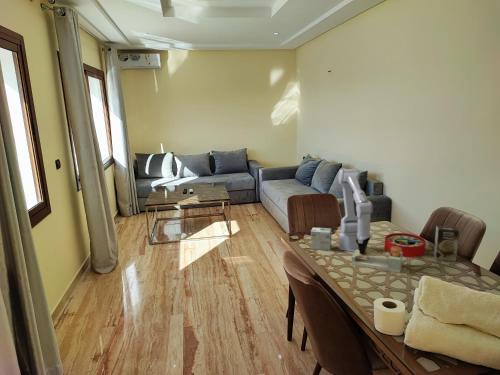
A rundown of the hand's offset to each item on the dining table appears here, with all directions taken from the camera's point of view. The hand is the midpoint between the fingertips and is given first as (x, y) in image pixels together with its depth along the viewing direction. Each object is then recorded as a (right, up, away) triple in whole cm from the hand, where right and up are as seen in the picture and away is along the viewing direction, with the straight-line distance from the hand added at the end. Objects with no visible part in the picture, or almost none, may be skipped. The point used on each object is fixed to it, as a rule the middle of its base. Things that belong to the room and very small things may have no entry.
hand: (362, 251), depth 171 cm
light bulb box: (-17, -2, +21) cm, 27 cm away
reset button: (+13, -2, -7) cm, 15 cm away
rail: (+6, -6, -2) cm, 9 cm away
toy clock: (+27, -2, +14) cm, 30 cm away
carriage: (0, -3, +1) cm, 4 cm away
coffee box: (+42, -4, +1) cm, 42 cm away
